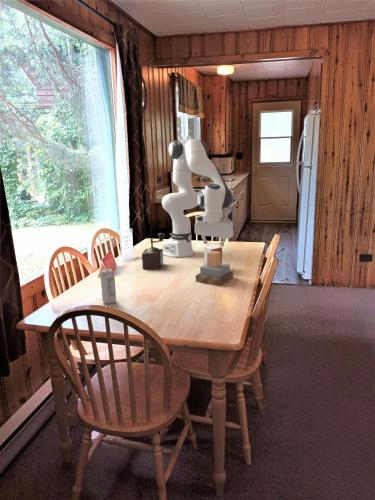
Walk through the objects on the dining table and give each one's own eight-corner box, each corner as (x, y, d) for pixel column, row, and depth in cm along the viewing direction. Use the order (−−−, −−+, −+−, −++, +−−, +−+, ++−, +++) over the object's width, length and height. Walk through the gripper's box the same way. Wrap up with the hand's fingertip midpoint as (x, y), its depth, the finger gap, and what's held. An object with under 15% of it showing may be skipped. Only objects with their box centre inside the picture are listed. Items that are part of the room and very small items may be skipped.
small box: (210, 272, 219) (210, 249, 215) (203, 269, 224) (203, 247, 220) (222, 269, 223) (222, 247, 219) (215, 267, 228) (215, 244, 224)
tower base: (195, 282, 206) (195, 275, 205) (209, 274, 217) (209, 267, 216) (220, 287, 199) (220, 279, 198) (232, 278, 210) (232, 271, 209)
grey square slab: (200, 274, 206) (200, 267, 205) (211, 268, 215) (211, 261, 214) (219, 278, 200) (219, 270, 199) (229, 271, 209) (229, 264, 208)
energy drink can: (110, 298, 187) (107, 267, 183) (119, 301, 183) (116, 269, 179) (100, 302, 182) (97, 270, 178) (108, 305, 178) (106, 273, 174)
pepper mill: (161, 269, 226) (160, 238, 221) (142, 269, 227) (140, 238, 222) (166, 261, 241) (165, 232, 236) (148, 261, 242) (146, 231, 237)
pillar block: (207, 266, 205) (207, 253, 203) (211, 263, 209) (211, 250, 208) (216, 267, 203) (216, 254, 201) (220, 265, 207) (220, 251, 205)
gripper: (235, 218, 196) (235, 245, 200) (199, 214, 207) (199, 241, 211) (230, 220, 191) (229, 248, 195) (192, 217, 202) (193, 243, 205)
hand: (213, 244), depth 203 cm, fingers open, 8 cm apart
